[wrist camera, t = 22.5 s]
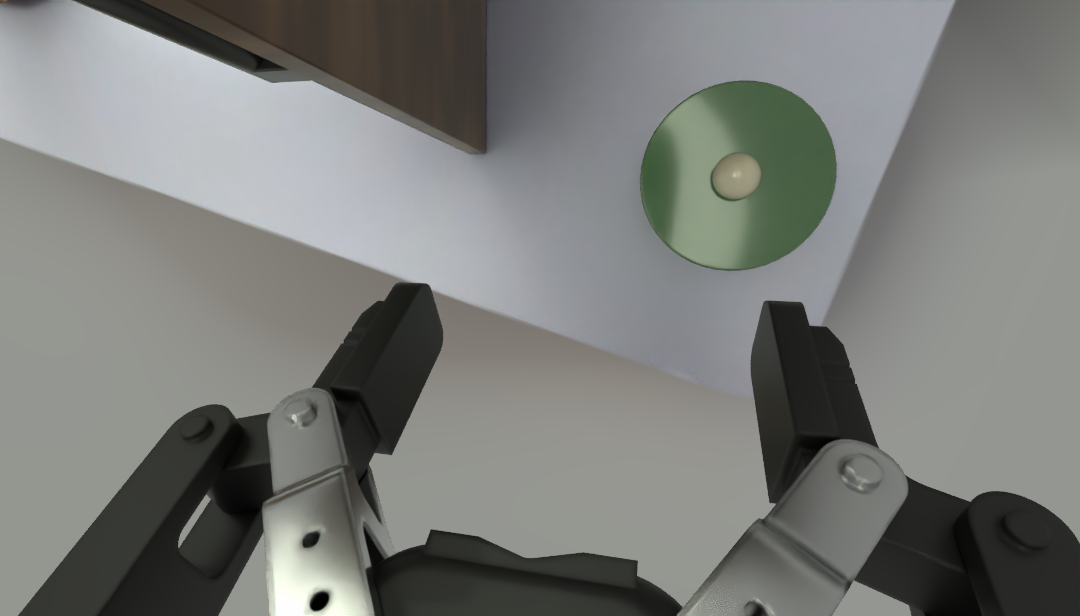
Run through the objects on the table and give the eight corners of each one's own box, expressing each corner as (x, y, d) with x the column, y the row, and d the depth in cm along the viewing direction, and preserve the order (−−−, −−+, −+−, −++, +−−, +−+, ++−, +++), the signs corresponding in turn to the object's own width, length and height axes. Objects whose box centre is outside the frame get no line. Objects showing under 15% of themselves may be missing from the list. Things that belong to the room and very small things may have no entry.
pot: (642, 260, 28) (634, 269, 18) (647, 132, 27) (643, 73, 18) (774, 263, 26) (840, 275, 17) (784, 129, 26) (859, 63, 16)
